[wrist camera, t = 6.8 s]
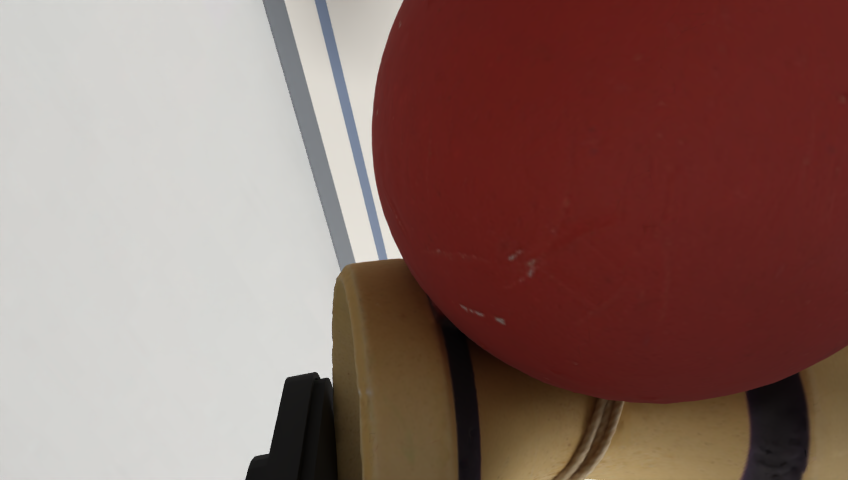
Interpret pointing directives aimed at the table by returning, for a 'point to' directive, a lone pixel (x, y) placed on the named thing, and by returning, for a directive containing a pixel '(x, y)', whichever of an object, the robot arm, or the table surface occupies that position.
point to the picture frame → (338, 110)
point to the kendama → (603, 245)
